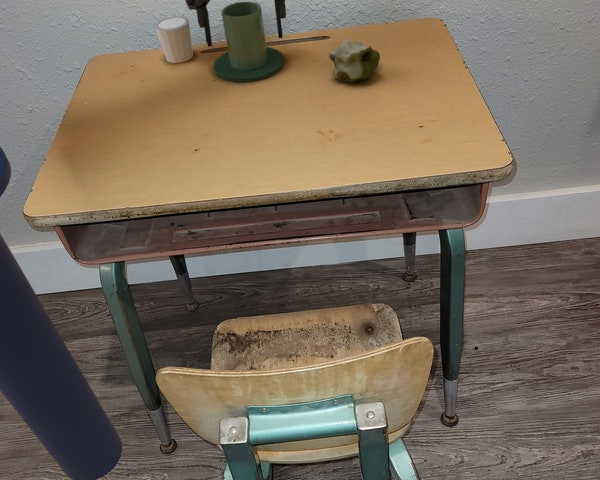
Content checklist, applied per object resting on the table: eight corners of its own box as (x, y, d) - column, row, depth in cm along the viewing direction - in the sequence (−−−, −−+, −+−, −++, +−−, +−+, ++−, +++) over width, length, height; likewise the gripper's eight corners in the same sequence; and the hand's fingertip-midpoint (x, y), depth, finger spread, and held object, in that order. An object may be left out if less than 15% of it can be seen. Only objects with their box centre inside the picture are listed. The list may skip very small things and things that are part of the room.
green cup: (239, 73, 115) (231, 20, 108) (224, 60, 120) (215, 8, 112) (273, 62, 117) (267, 10, 110) (257, 49, 122) (250, -2, 114)
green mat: (232, 89, 112) (231, 85, 112) (203, 63, 121) (203, 59, 121) (296, 68, 116) (296, 64, 116) (264, 43, 125) (264, 39, 125)
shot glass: (197, 61, 122) (189, 26, 117) (163, 66, 122) (155, 32, 117) (194, 47, 127) (187, 13, 122) (162, 52, 126) (154, 18, 121)
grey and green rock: (383, 90, 110) (380, 52, 103) (333, 97, 111) (327, 61, 105) (378, 58, 115) (376, 20, 108) (331, 66, 116) (325, 29, 110)
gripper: (296, -70, 116) (309, 39, 117) (169, -55, 116) (183, 54, 117) (296, -95, 108) (310, 22, 109) (161, -78, 108) (175, 38, 109)
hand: (244, 39), depth 113 cm, fingers open, 13 cm apart
